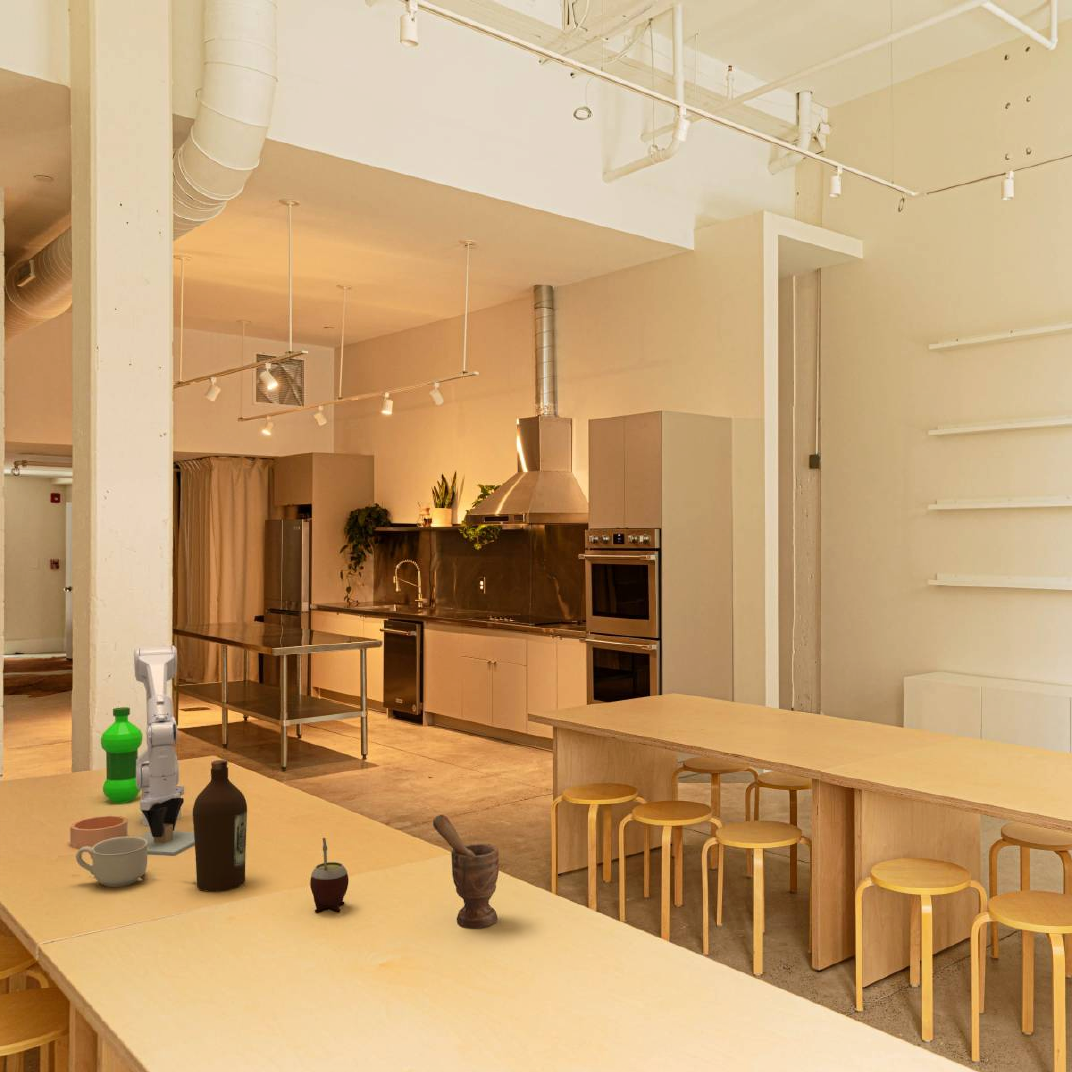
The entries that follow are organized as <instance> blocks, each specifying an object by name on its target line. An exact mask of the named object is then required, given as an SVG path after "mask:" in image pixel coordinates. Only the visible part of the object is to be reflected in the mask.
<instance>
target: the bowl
mask: <svg viewBox="0 0 1072 1072" xmlns="http://www.w3.org/2000/svg"><path fill="white" fill-rule="evenodd" d="M128 819H129V818H127V817H124V816H123V815H102V816H93V817H88V818H83V819H80V820H77V821H75V822H73V823H71V825H70V827H69V828H70V835H69V836H70V841H69V842H70V846H71V847H73V848H74V849H80V848H82V847H85V846H89V847H93V846H94V845H95V844H97V843H99V842H101V841H104V840H107V839H111V838H116V837H125V836H129V821H128Z"/></svg>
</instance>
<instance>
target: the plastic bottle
mask: <svg viewBox="0 0 1072 1072" xmlns="http://www.w3.org/2000/svg"><path fill="white" fill-rule="evenodd" d="M130 715H131V707H128V706H127V707H124V706H122V707H115V708H113V709H112V716H113V717H115V718H114V720H115V721H114V722H113V723H112V724H111V725H110V726H109V727H107V729H105V731H104V732H103V733H102V735H101V737H100V744H101V748H102V750H103V751H105V755H106V762H105V763H106V779H105V781H104V783H103V786H102V793H103V795H104V796H105V797H106V798H107V799H108V800H109V801H111V802H112V803H114V804H124V803H125V804H126V803H130V802H133V800H134V799H135V798H136V797H137V796H138V795H139V793H140V792H141V791H142V790H141V789H138V788H137V787H136V760H137V758H138V756H139V755H138V754H139V753H138V752H139V751H138V749H139V748H140V747H141V745H142V743H143V733H142V730H141V729H140V728H139V727H138V726H136V724H134V723H132V722H131V721H129V716H130Z"/></svg>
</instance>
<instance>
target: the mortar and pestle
mask: <svg viewBox="0 0 1072 1072" xmlns="http://www.w3.org/2000/svg"><path fill="white" fill-rule="evenodd" d="M432 825H433V828H434V830H435V831H436V832H437V833H438V834H439V835H440V836H441V837H442V838H443V839H444V840H445V841H446V842H447V844H448V845H449V846H450V847H451V848H452V850H451V872H452V873H451V874H452V879H453V884H454V886H455V891H456V893H457V896H458V897H460V898H461V899H462V900H463V903H464V905H463V906H462V908H460V910H459V911H458V914H457V916H456V922H457V925H459V926H460V927H463V928H469V929H478V928H479V929H480V928H486V927H490V926H491V925H493V924H495V923H497V922H498V920H499V918H498V913H497V911H496V910H495V909H494V907H492V905H490V900H491V898H492V896H493V895H494V893H495V892H496V888H497V881H498V878H499V877H498V876H499V871H500V870H499V860H500V859H499V858H500V857H499V856H500V855H499V851H500V850H499V847H498V846H496V845H494V844H491V843H484V842H481V843H467V844H464V842H463V841H462V839H461V837H460V836H459V834H458V833H457V830H456V829H455V827H454V825H453V823H452V822H451V821H450V820H449V818H448V817H447V816H446V815H444V814H439V815H437V816H436V817H435V818H434V819H433V820H432Z"/></svg>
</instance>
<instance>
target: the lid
mask: <svg viewBox="0 0 1072 1072" xmlns="http://www.w3.org/2000/svg"><path fill="white" fill-rule="evenodd" d="M139 837H141V838H144V839H146V840H147V841H148V845H147V853H149V854H148V855H150V854H165V855H164V856H166V855H175V854H177V853H179V852H181V851H183V850H184V849H186V848H188V847H190V846H192V845H194V844H195V840H194V831H181V830H180V831H179V830H177V831H176V830H174V831H173V824H164V823H163V834H162V837H152V833H151V831H149V832H147V833H145V834H142V835H140V836H139ZM183 852H184V851H183ZM181 853H182V852H181Z"/></svg>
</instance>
